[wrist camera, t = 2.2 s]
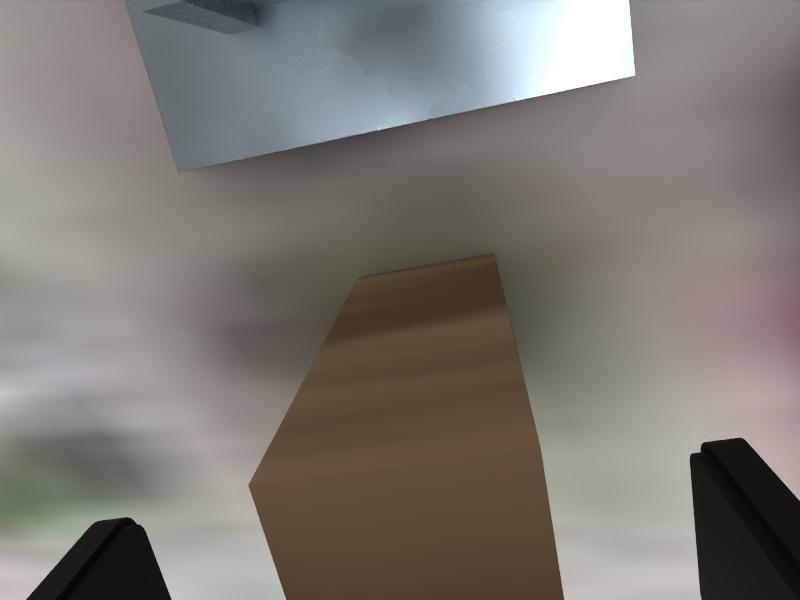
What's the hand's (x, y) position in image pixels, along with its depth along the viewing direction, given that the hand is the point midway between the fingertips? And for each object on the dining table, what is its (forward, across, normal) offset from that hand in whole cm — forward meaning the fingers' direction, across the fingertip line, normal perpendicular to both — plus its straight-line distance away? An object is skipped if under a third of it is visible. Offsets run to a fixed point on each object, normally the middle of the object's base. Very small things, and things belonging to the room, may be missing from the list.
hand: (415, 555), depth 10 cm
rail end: (+9, 0, -1) cm, 9 cm away
